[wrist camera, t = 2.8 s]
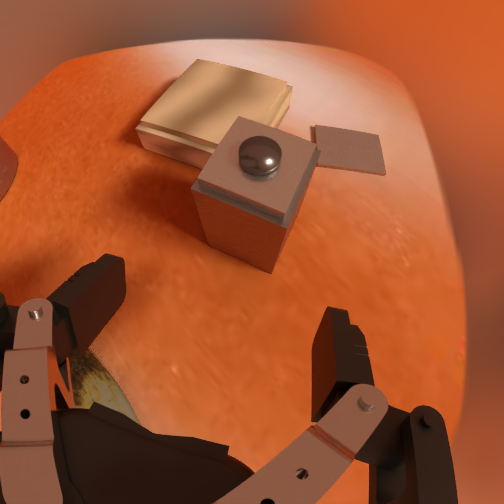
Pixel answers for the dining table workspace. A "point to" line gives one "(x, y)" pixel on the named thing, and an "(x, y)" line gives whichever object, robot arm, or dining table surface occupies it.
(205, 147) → the stand
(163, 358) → the dining table surface
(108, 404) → the claw
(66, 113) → the dining table surface
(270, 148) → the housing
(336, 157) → the cover plate
